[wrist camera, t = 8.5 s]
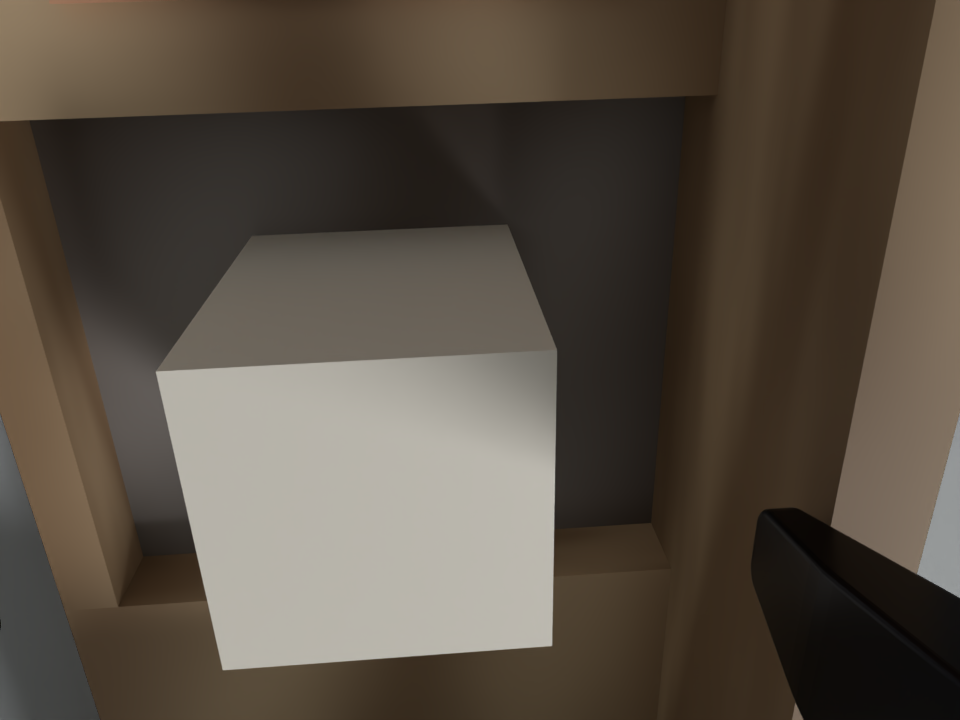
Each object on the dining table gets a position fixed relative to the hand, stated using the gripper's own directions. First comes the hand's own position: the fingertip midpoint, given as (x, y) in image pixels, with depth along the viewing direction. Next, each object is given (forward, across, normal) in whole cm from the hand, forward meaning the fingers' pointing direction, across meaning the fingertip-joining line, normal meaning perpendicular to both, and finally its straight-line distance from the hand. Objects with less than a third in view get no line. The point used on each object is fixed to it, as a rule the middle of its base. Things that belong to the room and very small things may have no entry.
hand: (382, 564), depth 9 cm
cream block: (+6, 0, 0) cm, 6 cm away
